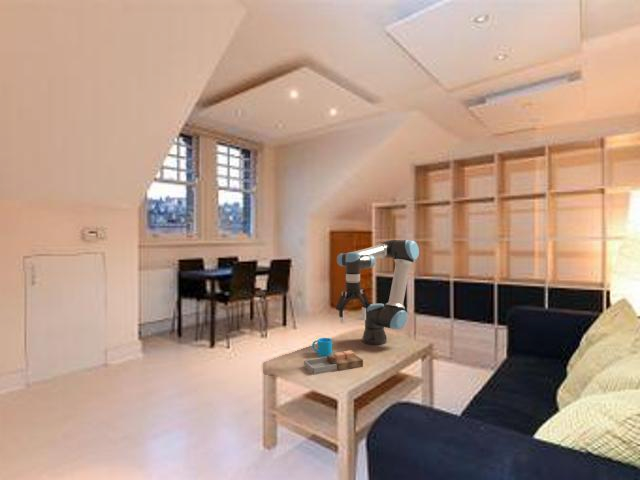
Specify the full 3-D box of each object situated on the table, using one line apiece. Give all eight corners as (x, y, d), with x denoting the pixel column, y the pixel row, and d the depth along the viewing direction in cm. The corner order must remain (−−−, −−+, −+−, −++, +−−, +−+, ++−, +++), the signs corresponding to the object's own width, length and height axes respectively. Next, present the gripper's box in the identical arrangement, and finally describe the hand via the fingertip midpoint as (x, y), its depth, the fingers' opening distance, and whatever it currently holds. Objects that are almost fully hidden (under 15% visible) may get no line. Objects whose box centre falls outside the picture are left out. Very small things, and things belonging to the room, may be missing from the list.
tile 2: (350, 354, 210) (350, 350, 210) (354, 357, 206) (354, 352, 206) (342, 356, 208) (342, 351, 208) (346, 358, 204) (346, 353, 204)
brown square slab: (349, 357, 215) (349, 351, 215) (363, 366, 202) (362, 359, 202) (326, 361, 210) (326, 355, 209) (338, 370, 197) (338, 363, 197)
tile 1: (341, 356, 208) (341, 351, 208) (345, 359, 204) (345, 354, 203) (333, 357, 206) (333, 352, 206) (337, 360, 202) (337, 355, 202)
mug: (334, 353, 224) (334, 338, 223) (328, 357, 216) (328, 342, 216) (315, 350, 229) (315, 336, 229) (308, 354, 222) (308, 340, 221)
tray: (326, 362, 209) (326, 356, 208) (337, 370, 198) (337, 364, 197) (304, 366, 203) (304, 360, 203) (313, 374, 192) (313, 368, 192)
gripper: (368, 278, 218) (368, 316, 219) (328, 282, 206) (329, 322, 207) (376, 280, 211) (376, 319, 212) (336, 284, 199) (336, 326, 200)
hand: (353, 321), depth 210 cm, fingers open, 13 cm apart
